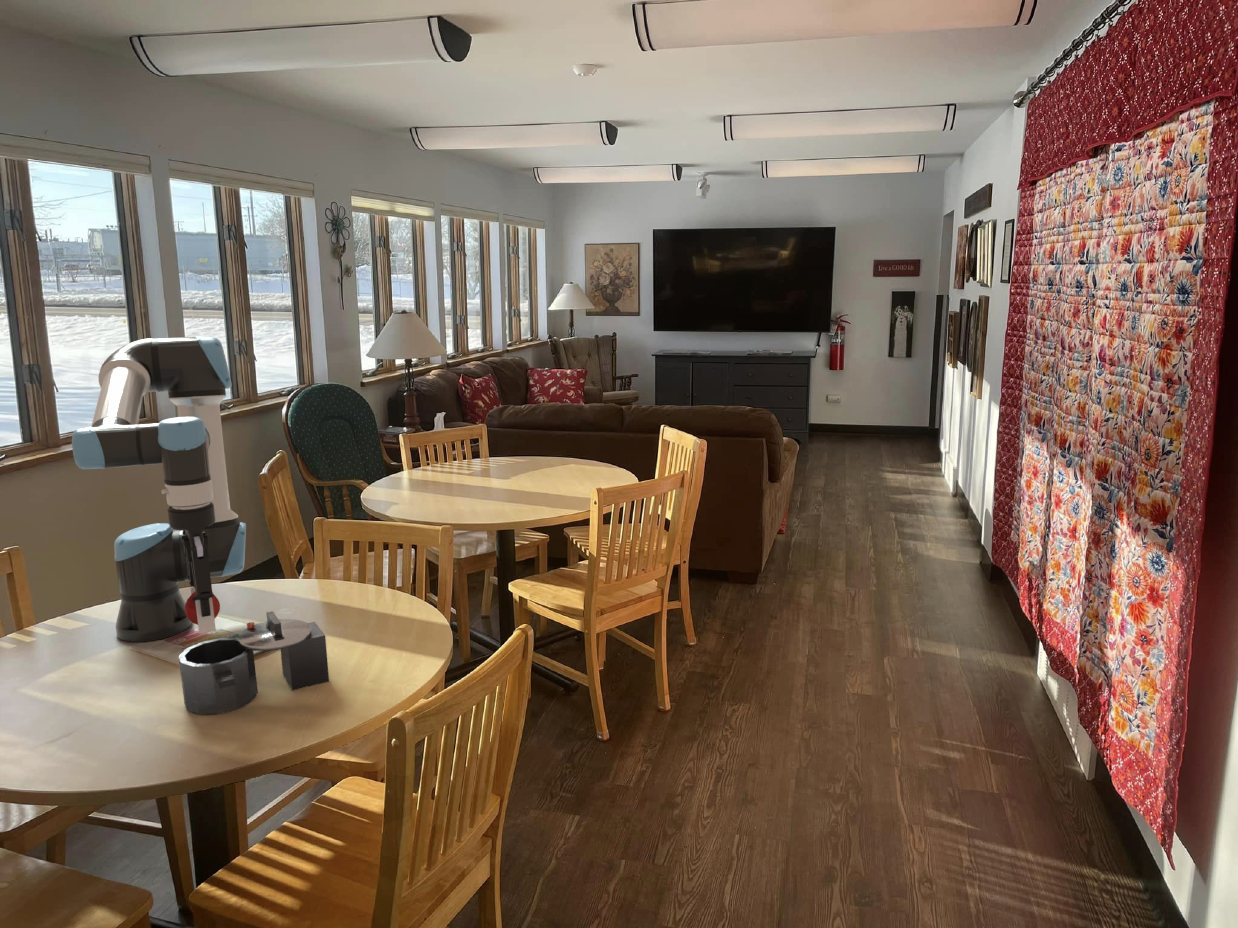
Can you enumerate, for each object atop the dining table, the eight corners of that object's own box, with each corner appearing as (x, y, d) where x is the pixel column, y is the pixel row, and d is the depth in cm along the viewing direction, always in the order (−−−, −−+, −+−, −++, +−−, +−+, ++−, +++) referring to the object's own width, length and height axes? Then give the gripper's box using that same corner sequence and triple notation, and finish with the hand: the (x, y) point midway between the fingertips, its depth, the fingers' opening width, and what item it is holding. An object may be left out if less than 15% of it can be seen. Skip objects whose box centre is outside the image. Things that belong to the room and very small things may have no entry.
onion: (208, 634, 161) (203, 592, 160) (180, 631, 162) (175, 590, 161) (228, 622, 167) (223, 581, 165) (201, 619, 168) (196, 579, 166)
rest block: (282, 674, 178) (278, 629, 176) (318, 666, 182) (314, 621, 180) (292, 690, 172) (287, 643, 169) (329, 681, 175) (325, 635, 173)
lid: (233, 632, 174) (231, 613, 173) (301, 618, 181) (300, 600, 180) (246, 656, 163) (243, 636, 162) (318, 640, 170) (316, 621, 169)
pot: (178, 685, 174) (172, 639, 172) (246, 670, 180) (241, 625, 178) (193, 731, 157) (187, 680, 155) (267, 712, 163) (262, 663, 161)
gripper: (161, 496, 166) (176, 613, 171) (173, 519, 150) (188, 647, 155) (206, 490, 169) (219, 605, 174) (221, 512, 154) (235, 638, 159)
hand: (204, 625), depth 165 cm, fingers closed on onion, 6 cm apart
